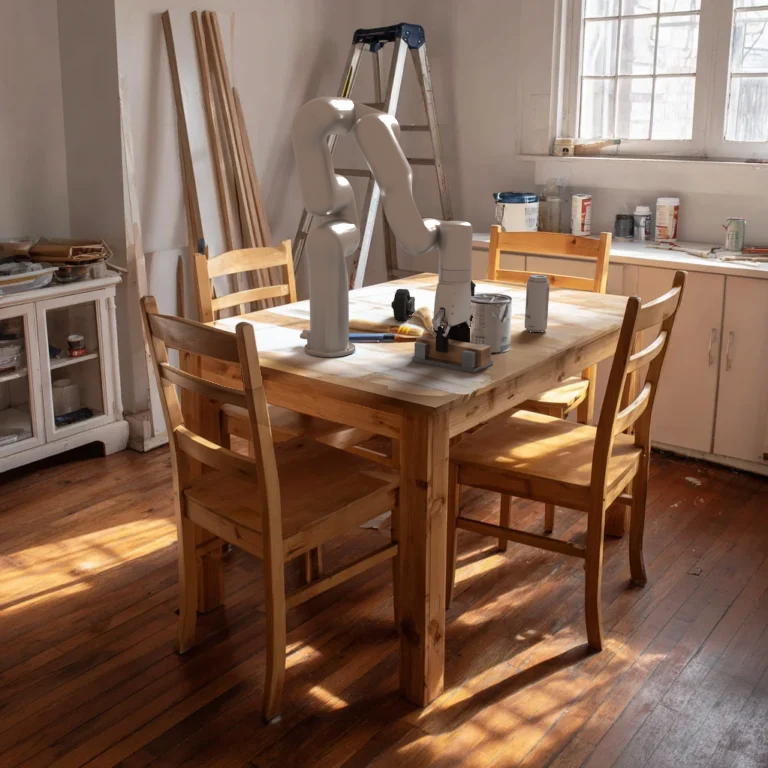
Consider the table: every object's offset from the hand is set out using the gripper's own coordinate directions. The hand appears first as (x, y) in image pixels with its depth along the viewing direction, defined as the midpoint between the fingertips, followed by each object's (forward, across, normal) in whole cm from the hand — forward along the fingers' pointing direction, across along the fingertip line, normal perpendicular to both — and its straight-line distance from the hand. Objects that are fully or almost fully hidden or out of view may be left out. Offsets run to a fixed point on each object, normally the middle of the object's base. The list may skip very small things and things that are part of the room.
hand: (452, 347), depth 212 cm
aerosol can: (+4, -14, -7) cm, 16 cm away
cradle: (+4, 0, 0) cm, 4 cm away
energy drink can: (+4, -40, +2) cm, 40 cm away
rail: (+3, 0, 0) cm, 3 cm away
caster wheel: (+4, -31, -35) cm, 47 cm away
